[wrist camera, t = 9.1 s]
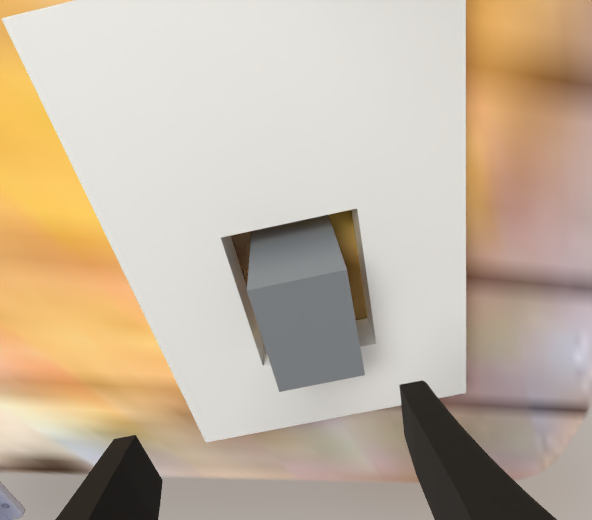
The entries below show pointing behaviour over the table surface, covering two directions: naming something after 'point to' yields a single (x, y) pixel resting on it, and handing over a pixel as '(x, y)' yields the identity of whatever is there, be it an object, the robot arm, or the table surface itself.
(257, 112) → the base plate
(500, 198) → the table surface
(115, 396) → the table surface
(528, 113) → the table surface
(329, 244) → the block
